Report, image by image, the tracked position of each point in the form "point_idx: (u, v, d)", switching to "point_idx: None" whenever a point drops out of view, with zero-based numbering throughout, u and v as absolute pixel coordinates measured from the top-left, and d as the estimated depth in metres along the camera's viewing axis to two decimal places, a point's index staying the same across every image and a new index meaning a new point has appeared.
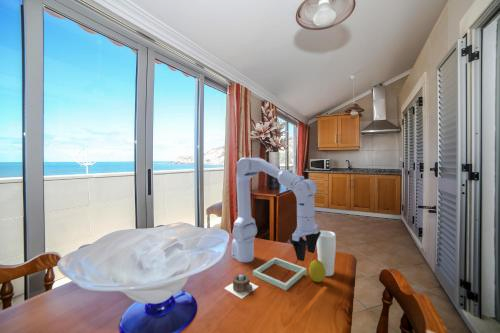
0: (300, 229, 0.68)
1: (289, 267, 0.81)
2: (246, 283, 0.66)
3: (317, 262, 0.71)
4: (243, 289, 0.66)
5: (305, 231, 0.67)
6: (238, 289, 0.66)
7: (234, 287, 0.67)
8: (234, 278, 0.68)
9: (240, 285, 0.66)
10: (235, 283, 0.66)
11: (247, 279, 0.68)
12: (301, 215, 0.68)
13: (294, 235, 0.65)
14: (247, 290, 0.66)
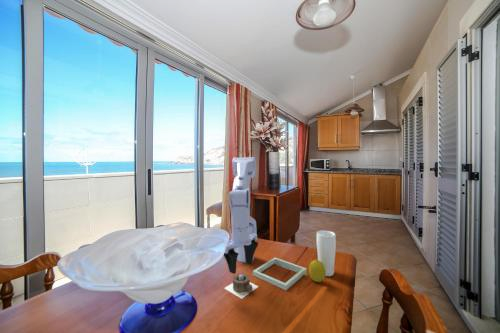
0: (233, 240, 0.66)
1: (289, 267, 0.81)
2: (246, 283, 0.66)
3: (317, 262, 0.71)
4: (243, 289, 0.66)
5: (237, 242, 0.65)
6: (238, 289, 0.66)
7: (234, 287, 0.67)
8: (234, 278, 0.68)
9: (240, 285, 0.66)
10: (235, 283, 0.66)
11: (247, 279, 0.68)
12: None
13: None
14: (247, 290, 0.66)
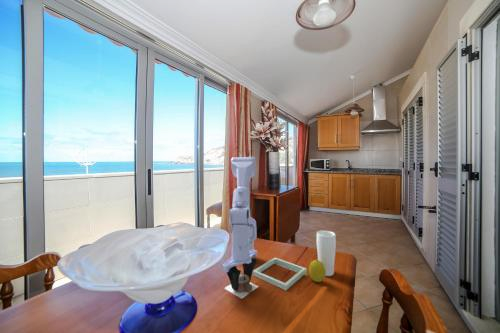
0: (233, 258, 0.67)
1: (289, 267, 0.81)
2: (246, 283, 0.66)
3: (317, 262, 0.71)
4: (243, 289, 0.66)
5: (237, 261, 0.66)
6: (238, 289, 0.66)
7: None
8: None
9: (240, 285, 0.66)
10: None
11: (247, 279, 0.68)
12: None
13: (223, 266, 0.63)
14: (247, 290, 0.66)
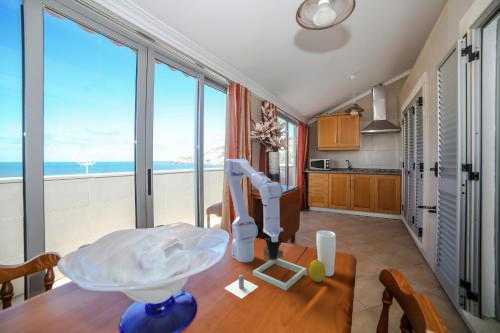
0: (271, 230, 0.71)
1: (289, 267, 0.81)
2: (278, 250, 0.74)
3: (317, 262, 0.71)
4: (278, 256, 0.73)
5: (276, 231, 0.72)
6: None
7: None
8: (267, 250, 0.73)
9: None
10: None
11: None
12: (265, 215, 0.73)
13: (274, 237, 0.67)
14: (280, 255, 0.74)
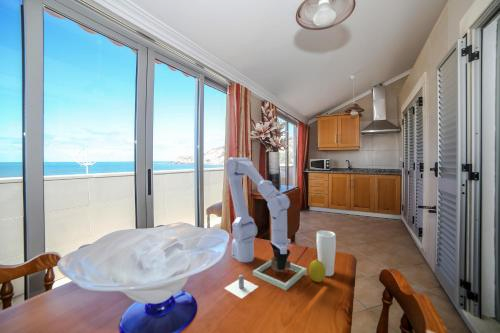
0: (279, 242, 0.73)
1: None
2: (286, 261, 0.76)
3: (317, 262, 0.71)
4: (286, 266, 0.75)
5: (284, 242, 0.74)
6: None
7: None
8: (275, 261, 0.75)
9: None
10: None
11: None
12: (274, 228, 0.74)
13: (283, 249, 0.69)
14: (288, 266, 0.76)
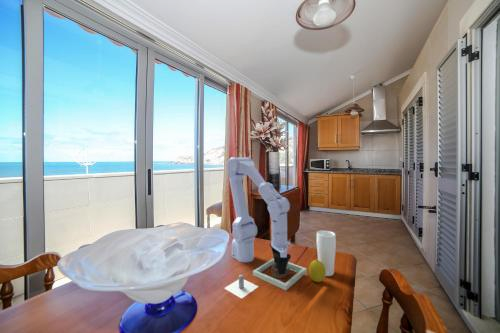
0: (279, 245, 0.73)
1: (289, 267, 0.81)
2: (286, 268, 0.76)
3: (317, 262, 0.71)
4: (285, 274, 0.75)
5: (284, 246, 0.74)
6: (283, 275, 0.74)
7: (278, 276, 0.74)
8: (274, 269, 0.75)
9: None
10: None
11: None
12: (274, 231, 0.74)
13: (283, 252, 0.69)
14: (288, 273, 0.76)
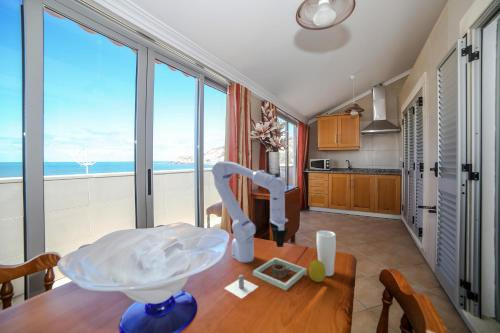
0: (277, 220, 0.80)
1: (289, 267, 0.81)
2: None
3: (317, 262, 0.71)
4: (285, 274, 0.75)
5: (282, 221, 0.80)
6: (283, 275, 0.74)
7: (278, 276, 0.74)
8: (274, 269, 0.75)
9: (284, 271, 0.74)
10: (280, 271, 0.74)
11: (283, 265, 0.77)
12: (275, 208, 0.80)
13: (281, 226, 0.75)
14: (288, 273, 0.76)
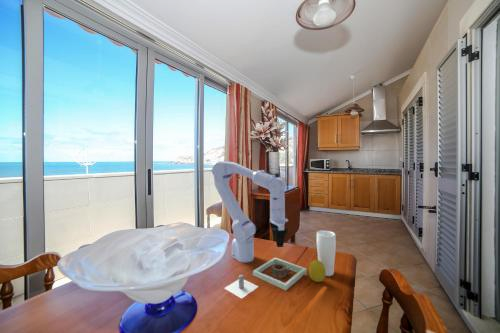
0: (277, 220, 0.80)
1: (289, 267, 0.81)
2: None
3: (317, 262, 0.71)
4: (285, 274, 0.75)
5: (282, 221, 0.80)
6: (283, 275, 0.74)
7: (278, 276, 0.74)
8: (274, 269, 0.75)
9: (284, 271, 0.74)
10: (280, 271, 0.74)
11: (283, 265, 0.77)
12: (275, 208, 0.80)
13: (281, 226, 0.75)
14: (288, 273, 0.76)
